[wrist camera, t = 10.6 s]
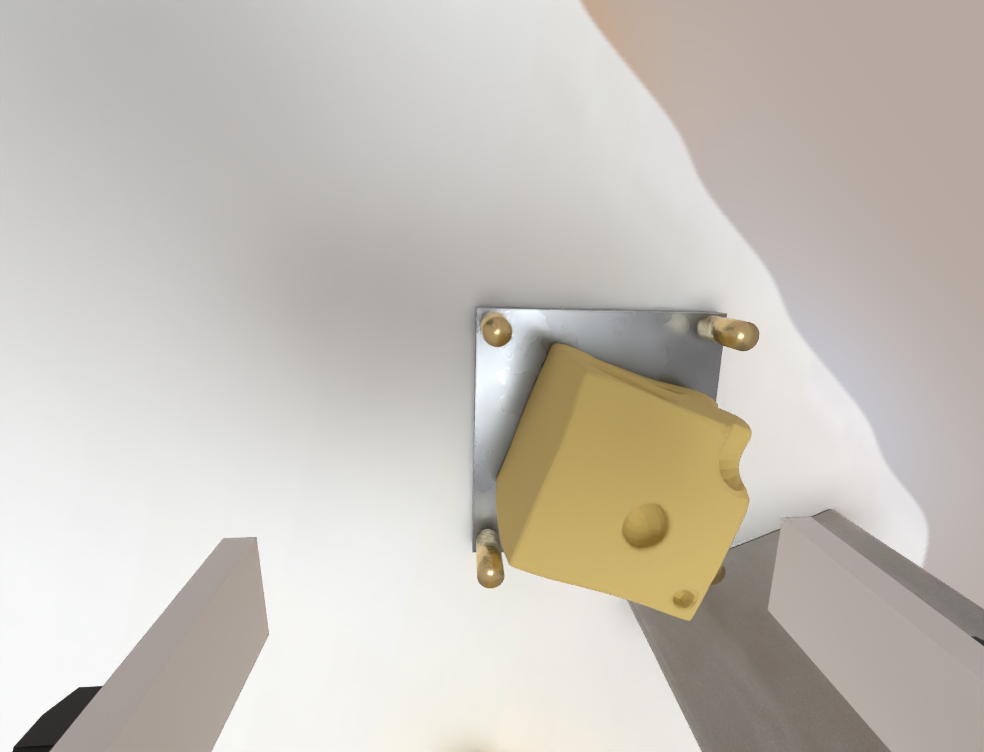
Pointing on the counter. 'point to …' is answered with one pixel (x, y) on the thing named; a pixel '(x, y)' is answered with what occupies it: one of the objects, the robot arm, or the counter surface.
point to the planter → (774, 655)
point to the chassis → (600, 333)
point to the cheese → (621, 484)
